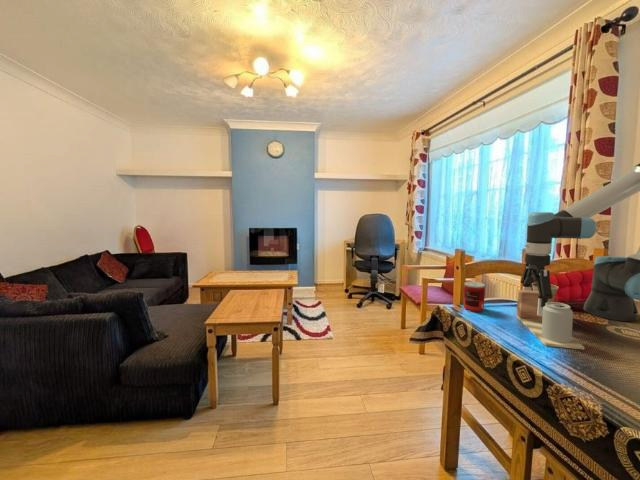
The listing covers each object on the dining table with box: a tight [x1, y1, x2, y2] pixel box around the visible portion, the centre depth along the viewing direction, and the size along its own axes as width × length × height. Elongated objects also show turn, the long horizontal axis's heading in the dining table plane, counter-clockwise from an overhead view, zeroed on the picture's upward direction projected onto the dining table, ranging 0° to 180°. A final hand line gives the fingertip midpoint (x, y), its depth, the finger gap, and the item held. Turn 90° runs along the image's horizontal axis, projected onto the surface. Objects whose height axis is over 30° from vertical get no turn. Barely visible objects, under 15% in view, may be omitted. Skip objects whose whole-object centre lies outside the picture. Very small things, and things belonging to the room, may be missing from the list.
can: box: [542, 301, 574, 343], centre depth 93 cm, size 8×8×12 cm
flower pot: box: [531, 282, 559, 302], centre depth 124 cm, size 9×9×9 cm
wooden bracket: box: [515, 289, 585, 350], centre depth 99 cm, size 24×10×11 cm, turn 164°
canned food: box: [463, 281, 486, 313], centre depth 121 cm, size 8×8×11 cm
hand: (533, 308), depth 109 cm, fingers open, 13 cm apart
